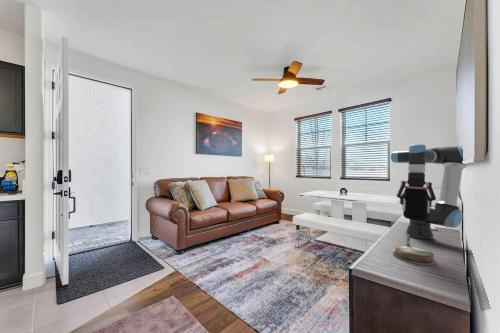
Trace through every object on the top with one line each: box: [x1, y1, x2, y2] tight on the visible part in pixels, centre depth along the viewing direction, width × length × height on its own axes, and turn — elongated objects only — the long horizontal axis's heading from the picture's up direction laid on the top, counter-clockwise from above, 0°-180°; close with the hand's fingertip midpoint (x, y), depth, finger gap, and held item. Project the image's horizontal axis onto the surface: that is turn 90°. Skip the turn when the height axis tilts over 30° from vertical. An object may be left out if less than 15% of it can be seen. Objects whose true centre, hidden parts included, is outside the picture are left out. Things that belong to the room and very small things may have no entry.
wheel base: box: [392, 250, 437, 267], centre depth 114 cm, size 18×18×1 cm
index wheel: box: [395, 235, 435, 263], centre depth 114 cm, size 16×16×9 cm
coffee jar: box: [402, 185, 429, 221], centre depth 122 cm, size 11×11×18 cm
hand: (415, 211), depth 122 cm, fingers closed on coffee jar, 11 cm apart
